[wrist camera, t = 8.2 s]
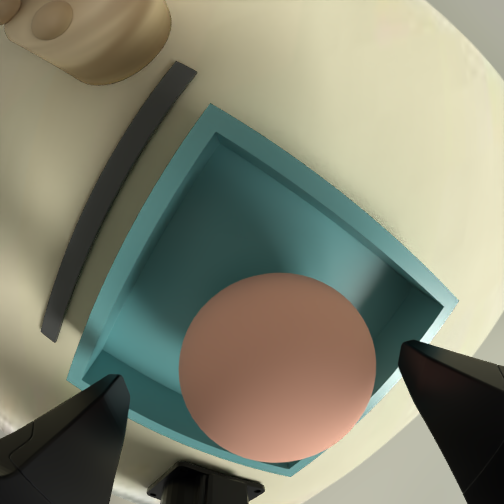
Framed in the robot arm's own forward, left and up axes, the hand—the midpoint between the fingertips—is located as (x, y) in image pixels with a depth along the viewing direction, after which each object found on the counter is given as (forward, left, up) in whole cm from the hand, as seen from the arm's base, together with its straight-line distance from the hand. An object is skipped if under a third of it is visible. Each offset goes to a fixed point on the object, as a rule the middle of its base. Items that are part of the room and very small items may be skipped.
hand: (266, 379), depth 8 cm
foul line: (0, +8, -4) cm, 9 cm away
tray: (0, 0, -4) cm, 4 cm away
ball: (0, 0, 0) cm, 1 cm away
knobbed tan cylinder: (+7, +12, -4) cm, 14 cm away
